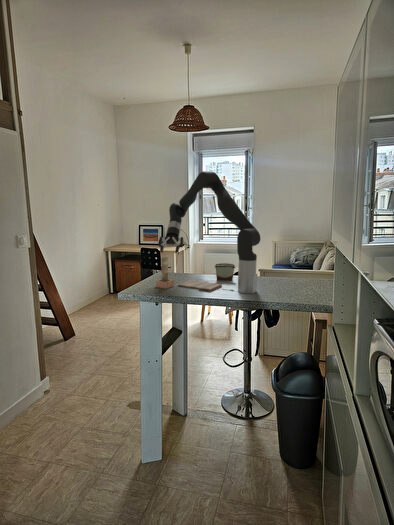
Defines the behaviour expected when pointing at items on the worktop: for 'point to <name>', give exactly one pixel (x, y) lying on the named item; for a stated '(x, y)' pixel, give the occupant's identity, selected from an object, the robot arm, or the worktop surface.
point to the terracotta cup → (164, 283)
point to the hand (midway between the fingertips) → (168, 252)
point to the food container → (224, 271)
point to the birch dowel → (165, 269)
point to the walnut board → (200, 285)
